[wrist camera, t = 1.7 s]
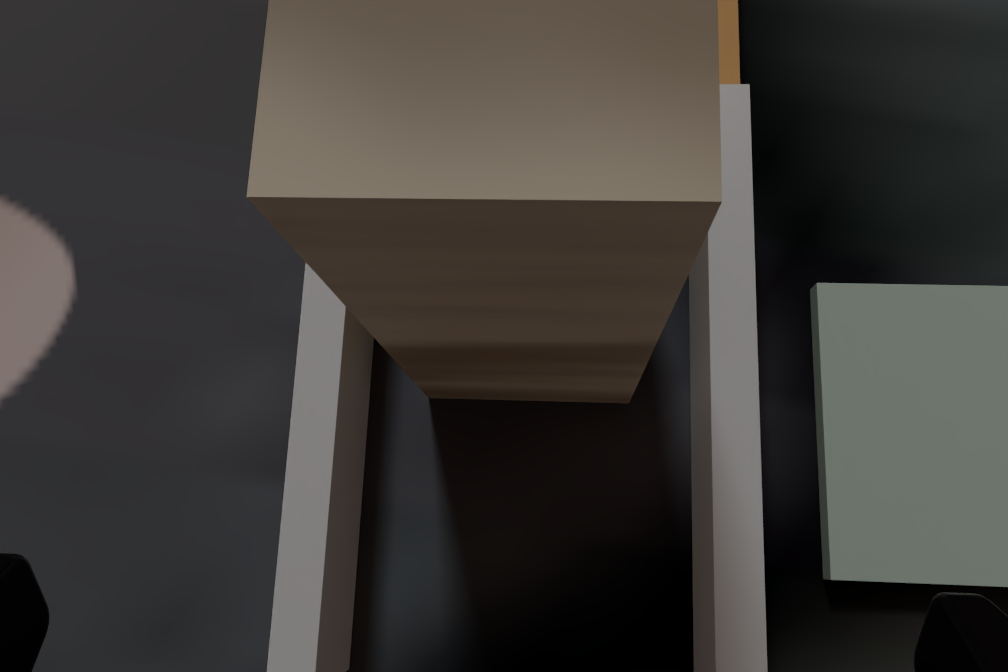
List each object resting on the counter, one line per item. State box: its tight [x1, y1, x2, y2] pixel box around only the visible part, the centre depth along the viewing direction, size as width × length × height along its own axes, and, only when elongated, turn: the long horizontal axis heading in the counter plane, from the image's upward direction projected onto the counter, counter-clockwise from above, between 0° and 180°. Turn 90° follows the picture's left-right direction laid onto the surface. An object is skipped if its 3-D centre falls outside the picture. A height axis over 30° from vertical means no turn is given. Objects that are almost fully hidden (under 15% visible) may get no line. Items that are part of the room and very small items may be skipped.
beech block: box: [247, 0, 722, 403], centre depth 16 cm, size 5×5×13 cm
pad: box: [810, 283, 1008, 587], centre depth 21 cm, size 7×7×1 cm
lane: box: [267, 84, 767, 672], centre depth 20 cm, size 14×10×3 cm
